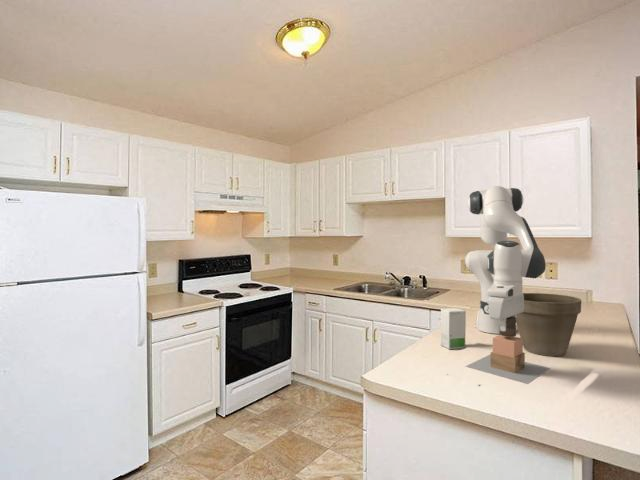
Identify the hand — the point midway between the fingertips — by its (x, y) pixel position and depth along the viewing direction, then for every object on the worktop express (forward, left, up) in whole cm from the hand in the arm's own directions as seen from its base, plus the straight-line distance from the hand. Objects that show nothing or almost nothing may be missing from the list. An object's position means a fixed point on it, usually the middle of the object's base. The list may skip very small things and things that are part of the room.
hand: (507, 329), depth 127 cm
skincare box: (-12, -27, -15) cm, 33 cm away
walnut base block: (0, 0, -13) cm, 13 cm away
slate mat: (0, 0, -15) cm, 15 cm away
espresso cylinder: (0, 0, -2) cm, 2 cm away
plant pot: (-34, 0, -15) cm, 37 cm away
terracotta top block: (0, 0, -8) cm, 8 cm away
